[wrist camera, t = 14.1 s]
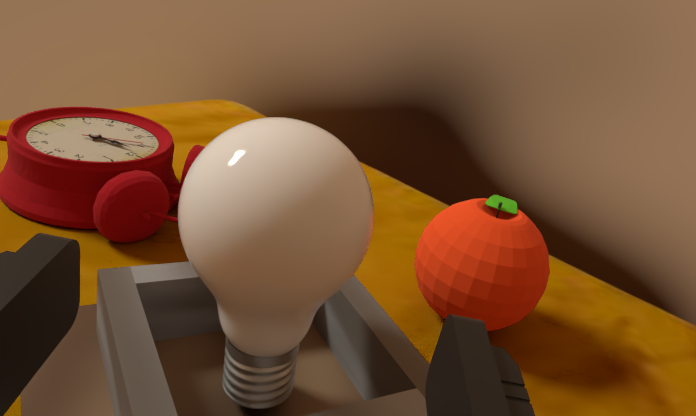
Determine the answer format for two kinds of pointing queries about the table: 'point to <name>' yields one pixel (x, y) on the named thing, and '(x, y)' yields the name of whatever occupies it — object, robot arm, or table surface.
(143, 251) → the table surface
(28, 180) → the alarm clock
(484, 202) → the clementine
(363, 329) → the socket stand
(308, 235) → the lightbulb
